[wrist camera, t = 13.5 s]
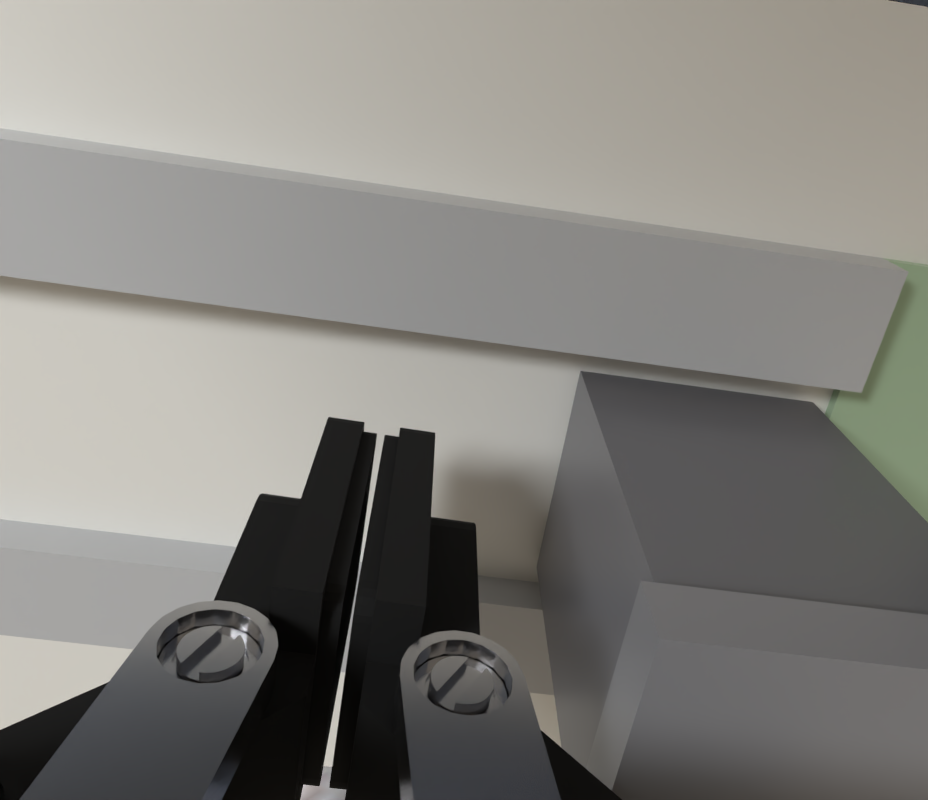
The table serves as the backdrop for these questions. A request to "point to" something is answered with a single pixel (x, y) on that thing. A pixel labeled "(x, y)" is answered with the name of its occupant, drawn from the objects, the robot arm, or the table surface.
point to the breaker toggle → (732, 601)
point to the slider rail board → (420, 269)
